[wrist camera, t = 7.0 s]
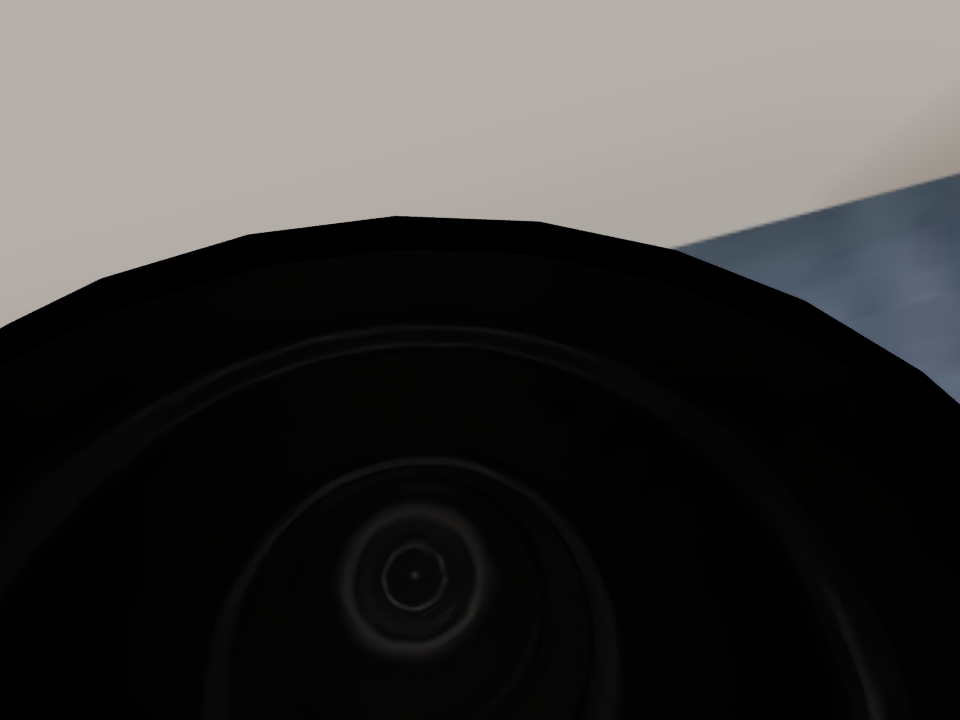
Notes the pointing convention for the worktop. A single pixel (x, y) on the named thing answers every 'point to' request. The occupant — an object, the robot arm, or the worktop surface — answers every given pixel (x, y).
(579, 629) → the plastic bottle
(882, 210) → the worktop surface
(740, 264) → the worktop surface
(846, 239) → the worktop surface
